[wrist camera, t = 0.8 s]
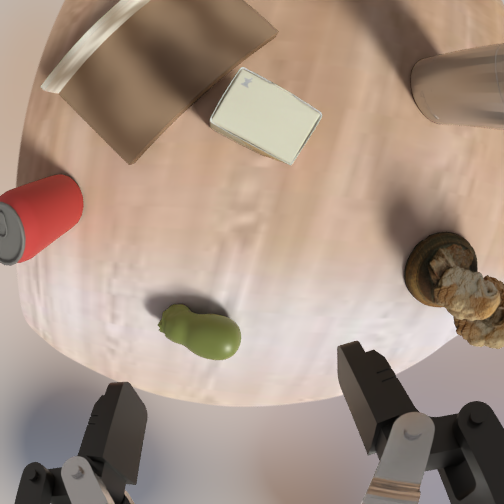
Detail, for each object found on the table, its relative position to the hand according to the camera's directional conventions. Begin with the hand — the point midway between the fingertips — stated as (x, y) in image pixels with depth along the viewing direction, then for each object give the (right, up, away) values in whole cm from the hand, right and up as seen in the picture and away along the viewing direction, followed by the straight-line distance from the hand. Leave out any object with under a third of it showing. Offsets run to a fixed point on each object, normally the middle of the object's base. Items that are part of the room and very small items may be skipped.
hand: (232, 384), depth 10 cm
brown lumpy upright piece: (+30, +2, +28) cm, 41 cm away
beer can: (-21, +11, +18) cm, 30 cm away
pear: (-6, -4, +26) cm, 27 cm away
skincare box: (0, +18, +18) cm, 25 cm away
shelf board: (-9, +25, +14) cm, 30 cm away
